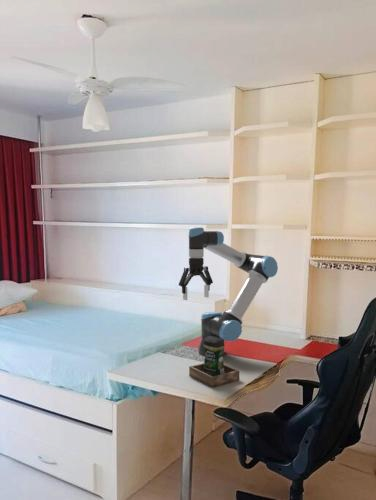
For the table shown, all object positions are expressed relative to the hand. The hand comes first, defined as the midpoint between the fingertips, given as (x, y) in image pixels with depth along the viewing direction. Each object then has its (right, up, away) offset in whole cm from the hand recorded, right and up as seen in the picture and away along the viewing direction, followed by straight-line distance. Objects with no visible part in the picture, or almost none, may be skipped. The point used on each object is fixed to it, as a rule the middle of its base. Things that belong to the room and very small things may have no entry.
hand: (196, 298), depth 209 cm
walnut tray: (+8, -36, -17) cm, 40 cm away
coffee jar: (+8, -35, -17) cm, 40 cm away
